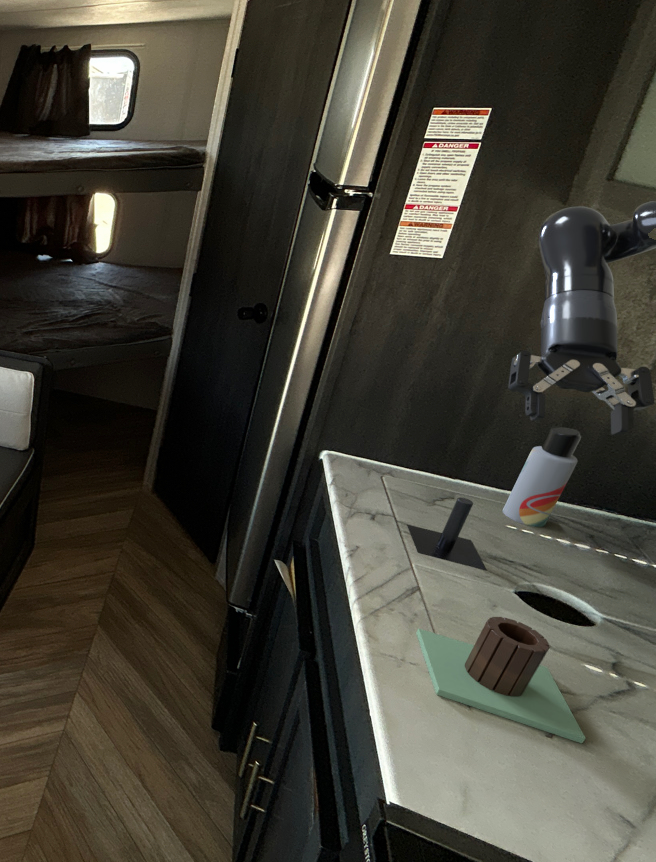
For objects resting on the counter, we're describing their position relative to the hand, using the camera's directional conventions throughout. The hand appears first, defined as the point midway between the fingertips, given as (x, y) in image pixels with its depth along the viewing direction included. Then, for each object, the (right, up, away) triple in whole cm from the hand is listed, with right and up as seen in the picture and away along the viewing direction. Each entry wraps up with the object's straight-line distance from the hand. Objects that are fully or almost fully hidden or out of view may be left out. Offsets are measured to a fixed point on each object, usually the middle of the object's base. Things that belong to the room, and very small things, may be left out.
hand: (577, 426), depth 90 cm
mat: (-17, -35, -5) cm, 39 cm away
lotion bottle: (+21, -21, +28) cm, 41 cm away
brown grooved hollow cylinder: (-17, -34, -5) cm, 38 cm away
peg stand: (-1, -24, +20) cm, 31 cm away
